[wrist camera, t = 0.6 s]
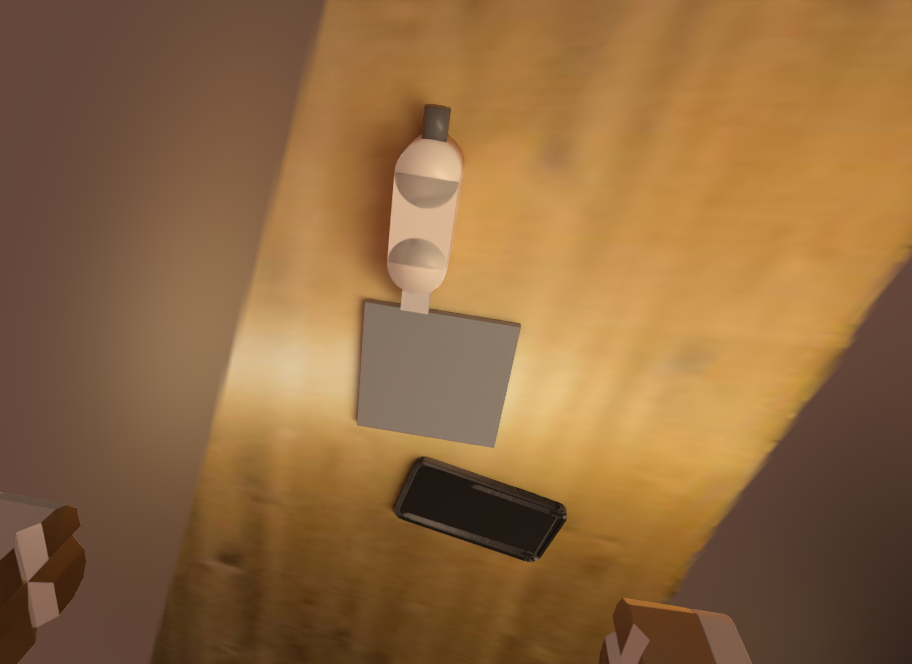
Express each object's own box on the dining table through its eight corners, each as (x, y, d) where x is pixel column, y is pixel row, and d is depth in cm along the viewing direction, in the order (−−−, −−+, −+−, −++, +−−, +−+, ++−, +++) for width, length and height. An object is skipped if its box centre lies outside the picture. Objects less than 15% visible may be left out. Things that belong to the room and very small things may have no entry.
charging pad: (366, 298, 43) (364, 302, 43) (520, 323, 43) (520, 327, 43) (358, 420, 49) (357, 425, 49) (494, 443, 49) (494, 447, 48)
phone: (535, 564, 55) (390, 516, 53) (535, 555, 56) (393, 507, 54) (571, 512, 51) (417, 458, 50) (570, 502, 52) (419, 449, 51)
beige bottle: (410, 97, 36) (400, 105, 33) (472, 107, 36) (467, 116, 32) (393, 293, 43) (382, 317, 39) (444, 301, 43) (438, 326, 39)
